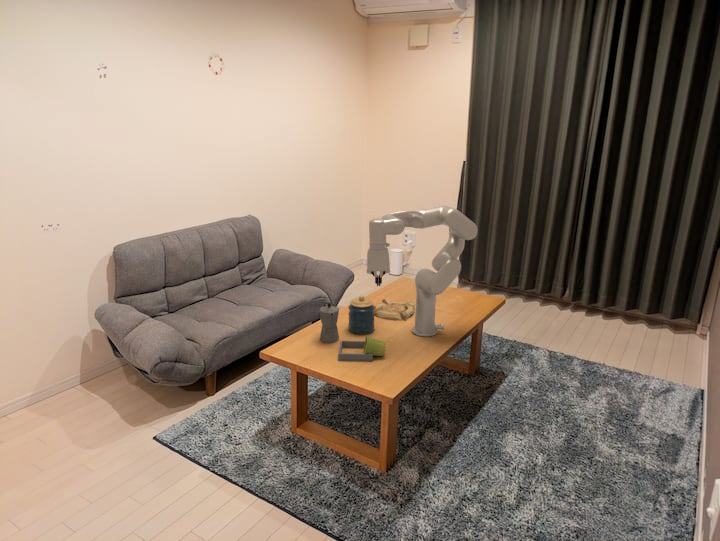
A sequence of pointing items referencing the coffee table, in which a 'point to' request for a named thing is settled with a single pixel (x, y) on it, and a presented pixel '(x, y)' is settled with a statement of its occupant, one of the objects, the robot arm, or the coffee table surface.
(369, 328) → the canister
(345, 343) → the bay
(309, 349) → the coffee table surface
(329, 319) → the coffeepot
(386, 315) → the ashtray
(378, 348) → the plant pot
